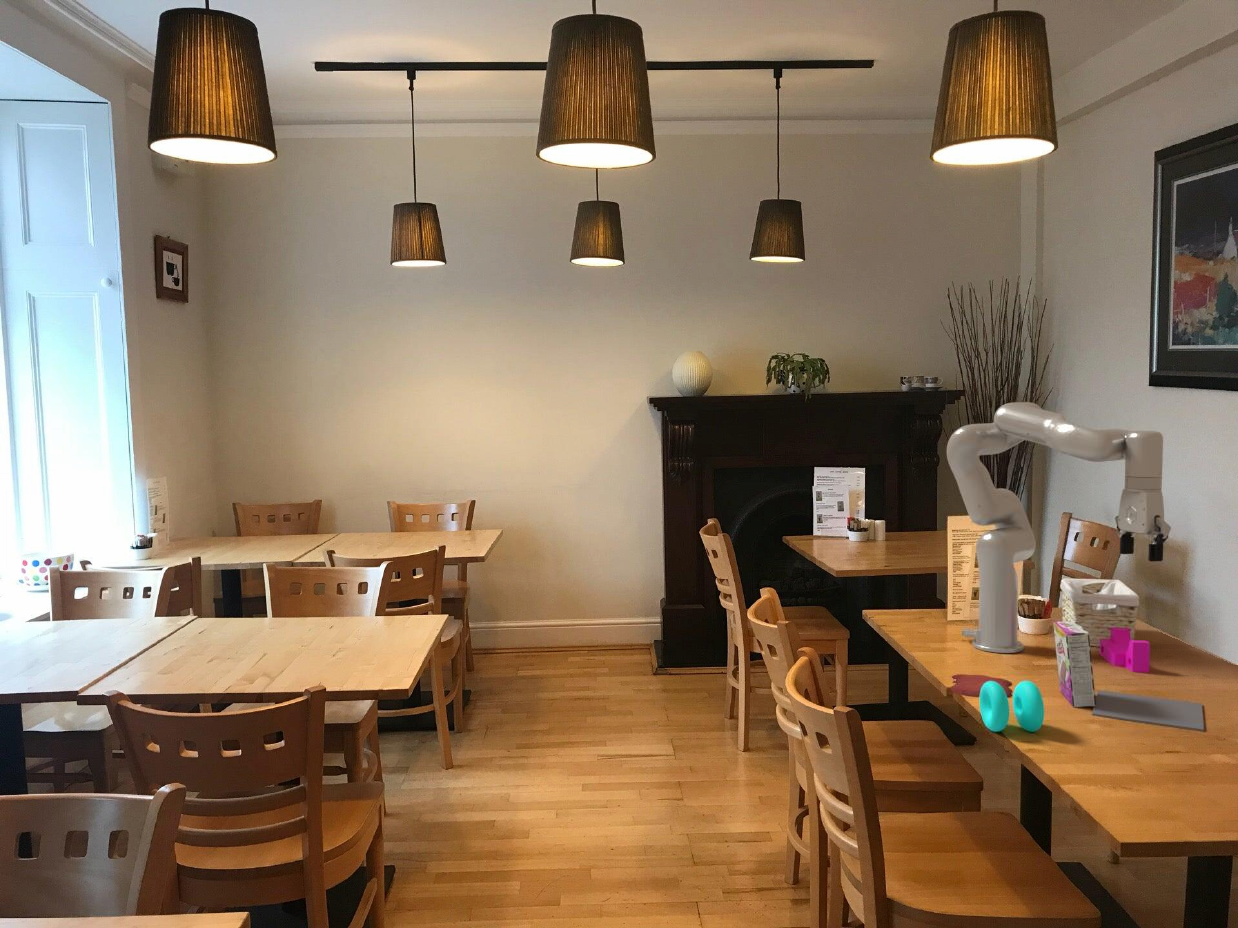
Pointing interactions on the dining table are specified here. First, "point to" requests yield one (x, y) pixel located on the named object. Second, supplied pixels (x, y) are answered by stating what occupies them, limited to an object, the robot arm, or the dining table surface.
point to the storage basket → (1099, 606)
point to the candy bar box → (1074, 664)
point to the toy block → (1125, 650)
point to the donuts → (1024, 706)
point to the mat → (1149, 710)
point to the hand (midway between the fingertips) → (1140, 557)
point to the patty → (976, 684)
